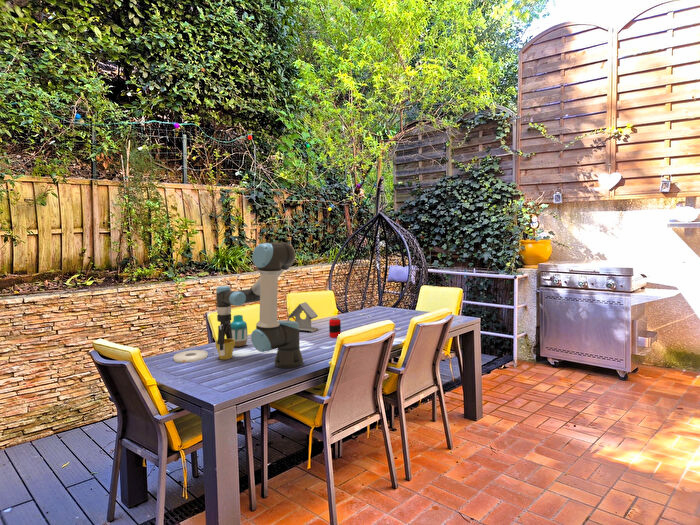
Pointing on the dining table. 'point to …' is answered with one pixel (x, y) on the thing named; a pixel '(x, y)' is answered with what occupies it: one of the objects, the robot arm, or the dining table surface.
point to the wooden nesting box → (305, 323)
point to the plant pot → (227, 348)
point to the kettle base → (190, 356)
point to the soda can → (334, 327)
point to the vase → (239, 330)
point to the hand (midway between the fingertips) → (225, 352)
